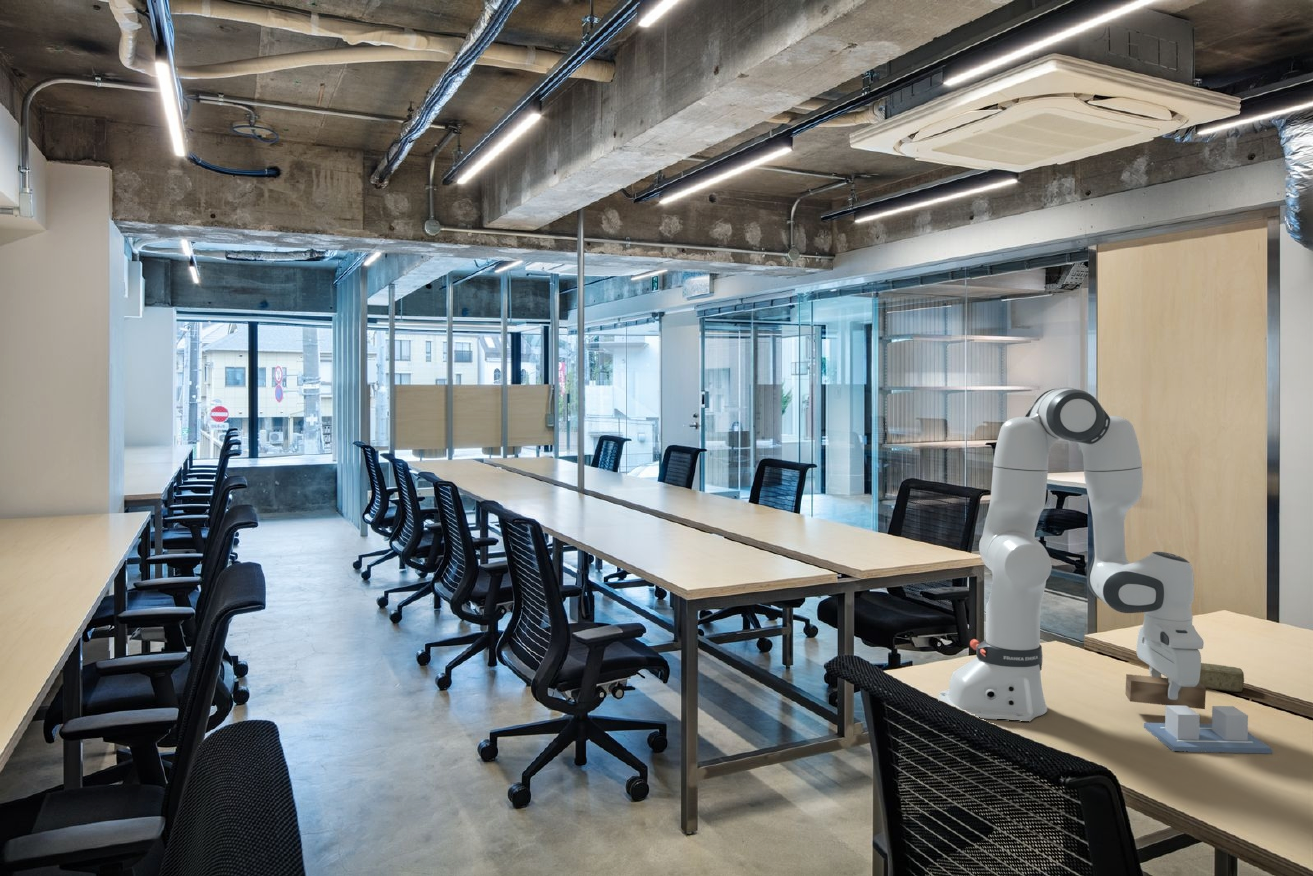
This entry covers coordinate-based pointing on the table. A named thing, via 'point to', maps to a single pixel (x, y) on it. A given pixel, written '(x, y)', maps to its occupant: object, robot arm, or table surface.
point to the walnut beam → (1162, 692)
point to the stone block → (1221, 677)
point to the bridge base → (1207, 731)
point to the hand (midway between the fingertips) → (1164, 693)
